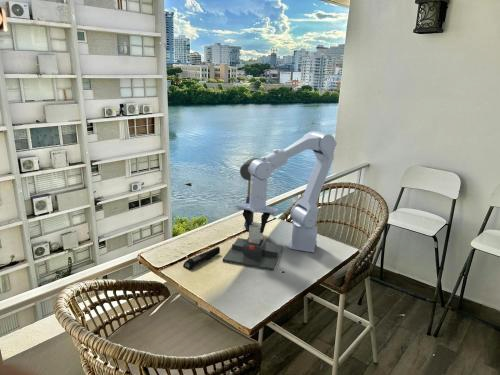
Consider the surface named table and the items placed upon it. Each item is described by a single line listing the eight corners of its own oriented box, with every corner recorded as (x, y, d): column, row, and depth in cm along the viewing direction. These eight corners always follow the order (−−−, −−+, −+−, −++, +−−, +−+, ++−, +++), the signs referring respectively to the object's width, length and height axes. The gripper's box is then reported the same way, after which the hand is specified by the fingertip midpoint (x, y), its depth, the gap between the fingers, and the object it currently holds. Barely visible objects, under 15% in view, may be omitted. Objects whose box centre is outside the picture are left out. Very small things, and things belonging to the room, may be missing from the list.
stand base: (283, 247, 136) (284, 235, 135) (273, 271, 120) (274, 257, 118) (238, 240, 141) (238, 228, 139) (222, 261, 124) (222, 248, 123)
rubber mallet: (244, 222, 158) (248, 155, 149) (261, 224, 156) (265, 157, 147) (235, 233, 147) (238, 161, 138) (253, 236, 145) (257, 163, 136)
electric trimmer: (222, 256, 129) (222, 248, 128) (189, 271, 117) (190, 263, 116) (215, 252, 131) (215, 244, 130) (182, 267, 119) (182, 259, 119)
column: (261, 243, 131) (263, 223, 128) (258, 248, 127) (260, 227, 124) (251, 242, 131) (252, 221, 129) (248, 246, 128) (249, 226, 125)
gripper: (234, 195, 122) (232, 232, 126) (276, 201, 118) (273, 238, 122) (240, 189, 128) (238, 224, 132) (280, 194, 125) (277, 230, 129)
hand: (255, 231), depth 128 cm, fingers closed on column, 4 cm apart
